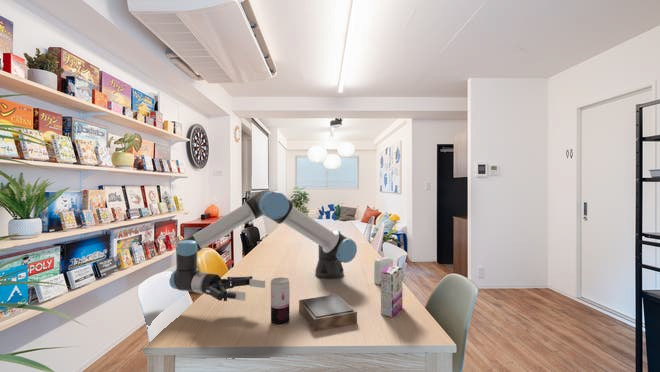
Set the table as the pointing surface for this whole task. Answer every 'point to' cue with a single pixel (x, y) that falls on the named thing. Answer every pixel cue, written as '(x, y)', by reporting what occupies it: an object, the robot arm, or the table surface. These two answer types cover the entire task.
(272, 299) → the beverage can
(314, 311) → the walnut stand
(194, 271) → the robot arm
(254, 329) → the table surface
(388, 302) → the candy bar box
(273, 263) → the table surface
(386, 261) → the photo printer
